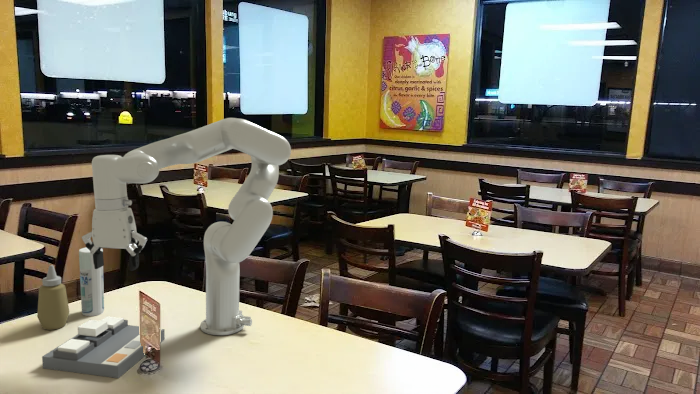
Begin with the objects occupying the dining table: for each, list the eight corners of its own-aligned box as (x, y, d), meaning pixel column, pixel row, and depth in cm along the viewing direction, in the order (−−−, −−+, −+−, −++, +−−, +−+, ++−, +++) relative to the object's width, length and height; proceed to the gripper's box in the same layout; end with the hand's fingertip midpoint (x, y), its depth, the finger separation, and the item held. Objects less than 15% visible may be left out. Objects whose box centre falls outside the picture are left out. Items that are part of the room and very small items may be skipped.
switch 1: (89, 348, 134) (89, 340, 133) (76, 357, 129) (76, 349, 128) (71, 346, 134) (71, 338, 134) (57, 355, 129) (57, 347, 129)
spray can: (77, 312, 163) (74, 249, 160) (97, 306, 169) (95, 245, 165) (87, 318, 160) (85, 253, 156) (108, 312, 165) (106, 249, 161)
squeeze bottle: (56, 333, 148) (53, 271, 145) (31, 330, 150) (27, 268, 147) (76, 322, 156) (73, 263, 153) (52, 319, 158) (49, 260, 155)
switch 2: (107, 328, 140) (107, 321, 140) (95, 336, 136) (95, 329, 135) (90, 326, 141) (90, 319, 141) (77, 334, 136) (77, 327, 136)
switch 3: (124, 325, 148) (123, 318, 148) (113, 332, 143) (113, 325, 143) (107, 323, 149) (107, 316, 149) (96, 330, 144) (96, 323, 144)
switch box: (164, 339, 148) (164, 323, 147) (118, 378, 127) (117, 360, 126) (98, 331, 151) (98, 316, 150) (42, 368, 130) (41, 350, 129)
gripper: (151, 202, 138) (155, 265, 141) (88, 199, 140) (94, 262, 143) (136, 208, 130) (140, 274, 134) (70, 205, 132) (76, 271, 136)
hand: (116, 268), depth 138 cm, fingers open, 9 cm apart
